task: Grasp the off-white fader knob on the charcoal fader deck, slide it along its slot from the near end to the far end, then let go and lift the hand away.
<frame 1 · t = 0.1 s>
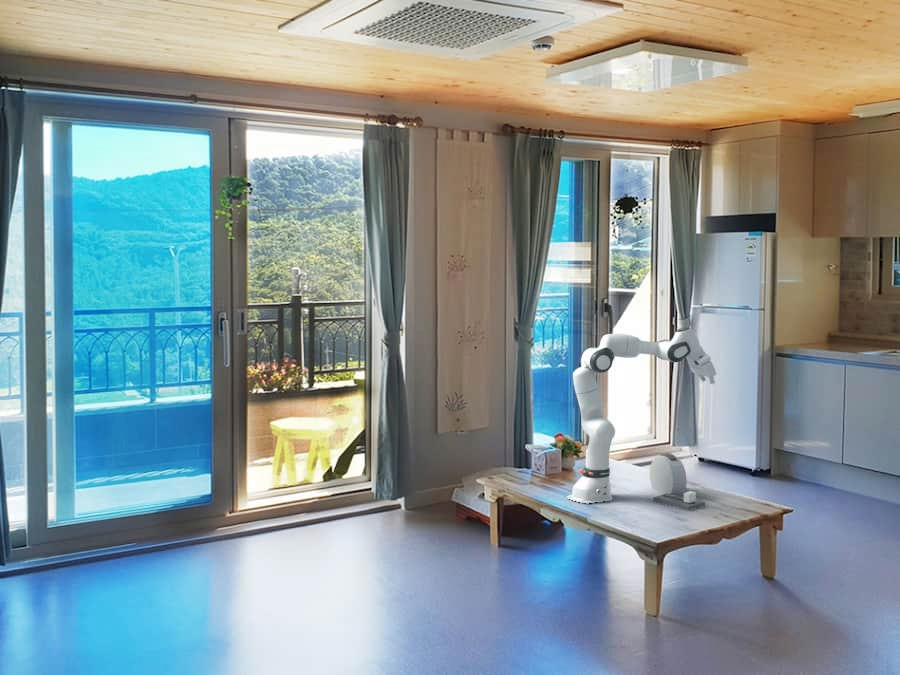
hand: (708, 382, 422), 54 cm above the table, tool tilted 30°, fingers open, 8 cm apart
alarm clock: (667, 494, 424), on the table, touching fader deck
fader deck: (678, 503, 406), on the table
fader knob: (689, 498, 401), point 4 cm above the table, slide at -6.0 cm
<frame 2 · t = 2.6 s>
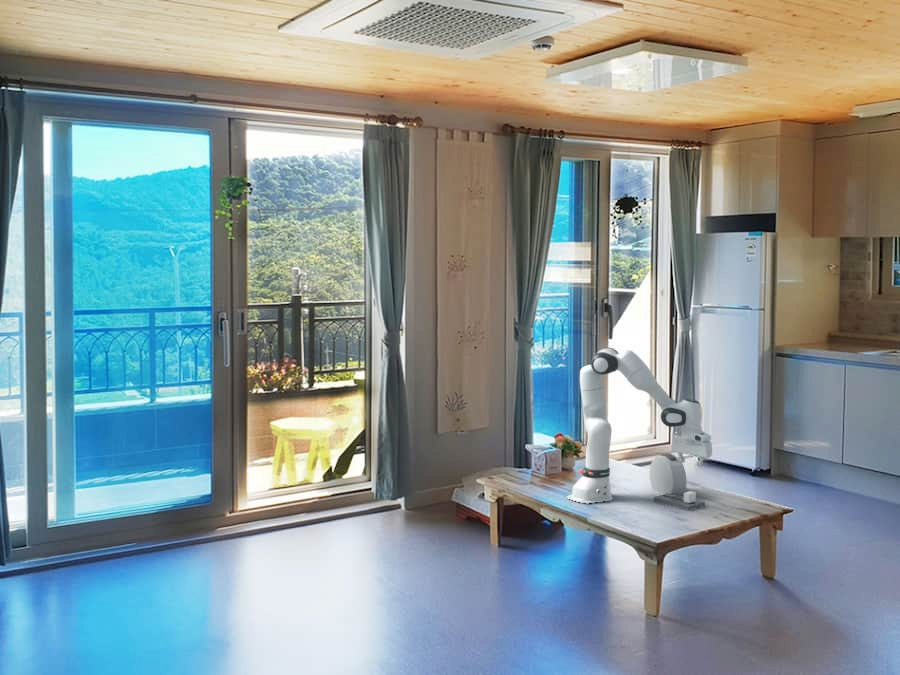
hand: (690, 464, 399), 20 cm above the table, tool pointing down, fingers open, 8 cm apart
nothing on the table moved.
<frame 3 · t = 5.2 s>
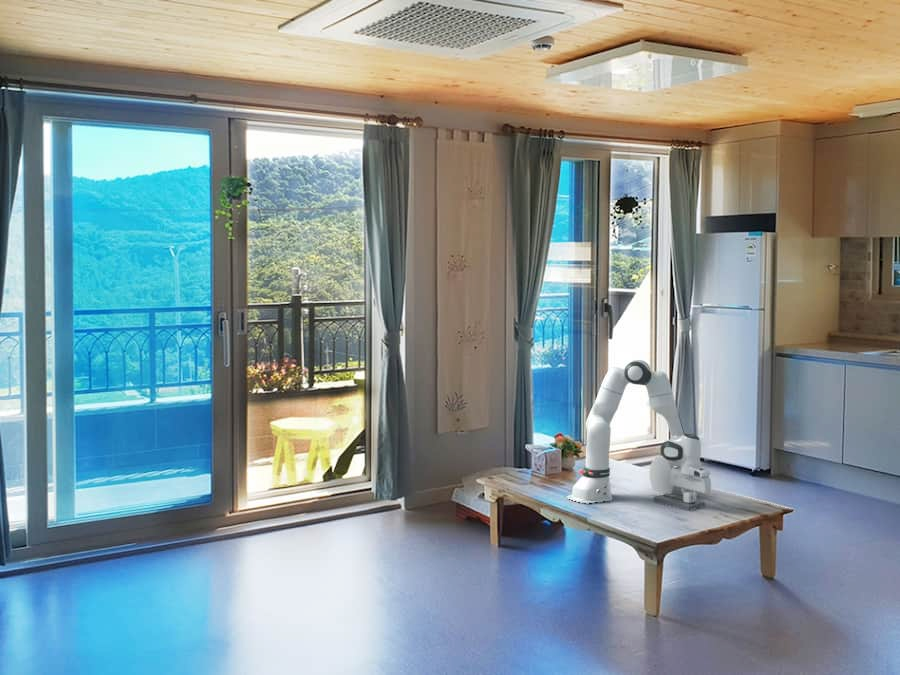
hand: (689, 498, 401), 4 cm above the table, tool pointing down, fingers closed on fader knob, 3 cm apart
fader knob: (689, 498, 401), point 4 cm above the table, slide at -6.0 cm, touching gripper
everything else where it was.
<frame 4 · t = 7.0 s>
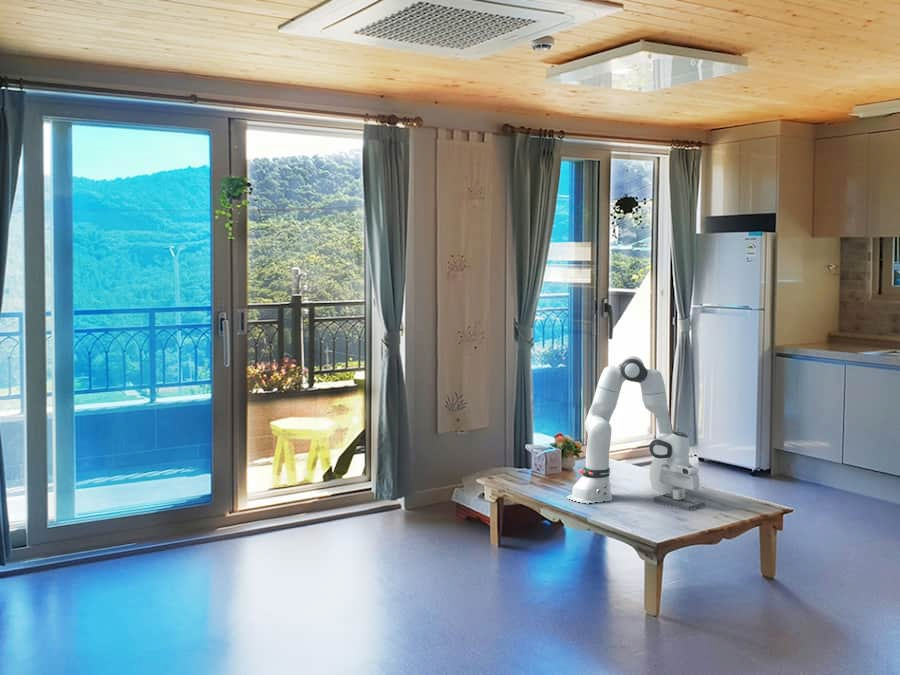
hand: (678, 496, 406), 4 cm above the table, tool pointing down, fingers closed on fader knob, 3 cm apart
fader knob: (678, 495, 406), point 4 cm above the table, slide at 0.2 cm, touching gripper
everything else where it was.
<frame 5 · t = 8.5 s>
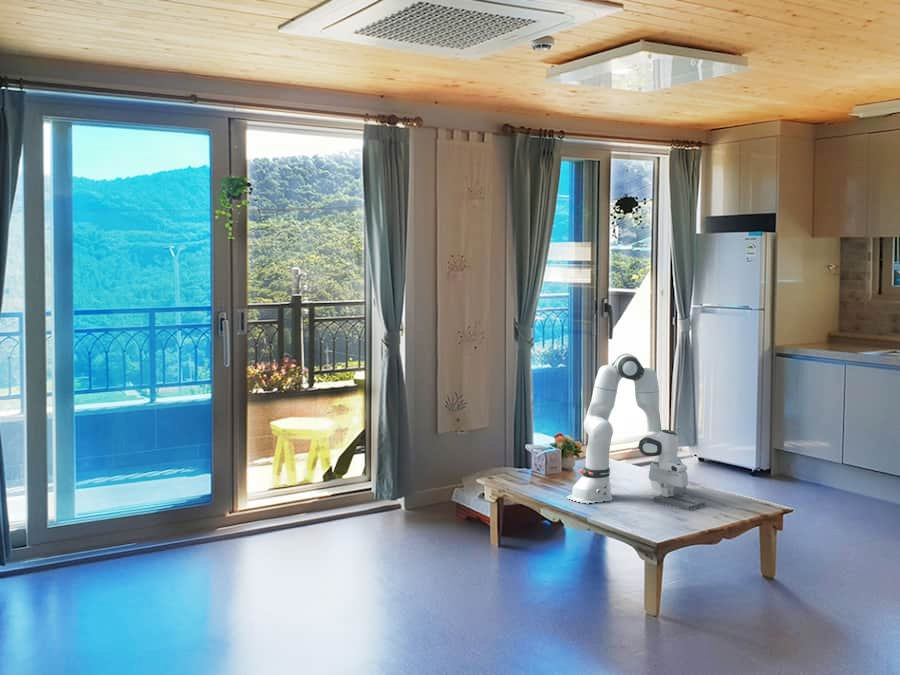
hand: (667, 493, 411), 4 cm above the table, tool pointing down, fingers closed on fader knob, 3 cm apart
fader knob: (667, 492, 411), point 4 cm above the table, slide at 6.5 cm, touching gripper
everything else where it was.
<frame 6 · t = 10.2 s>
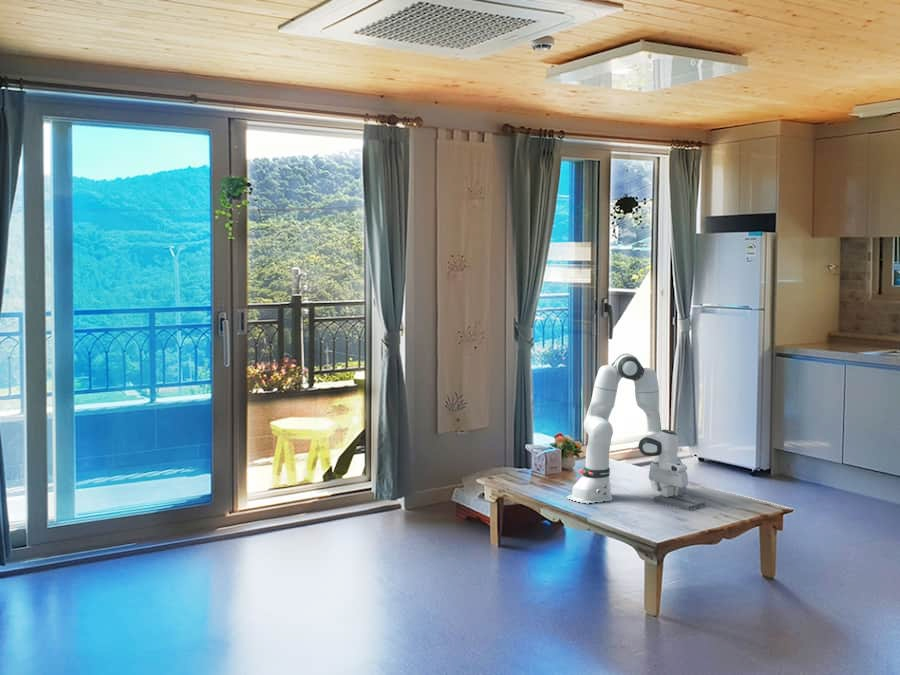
hand: (667, 493, 411), 4 cm above the table, tool pointing down, fingers open, 8 cm apart
fader knob: (667, 492, 411), point 4 cm above the table, slide at 6.5 cm
everything else where it was.
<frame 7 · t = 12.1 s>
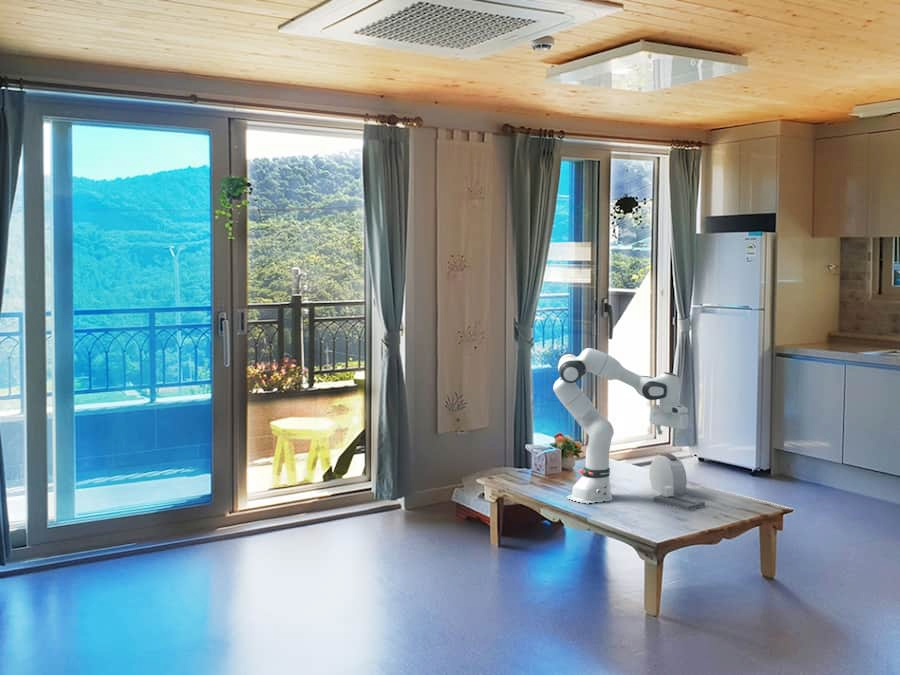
hand: (667, 436, 410), 31 cm above the table, tool pointing down, fingers open, 8 cm apart
nothing on the table moved.
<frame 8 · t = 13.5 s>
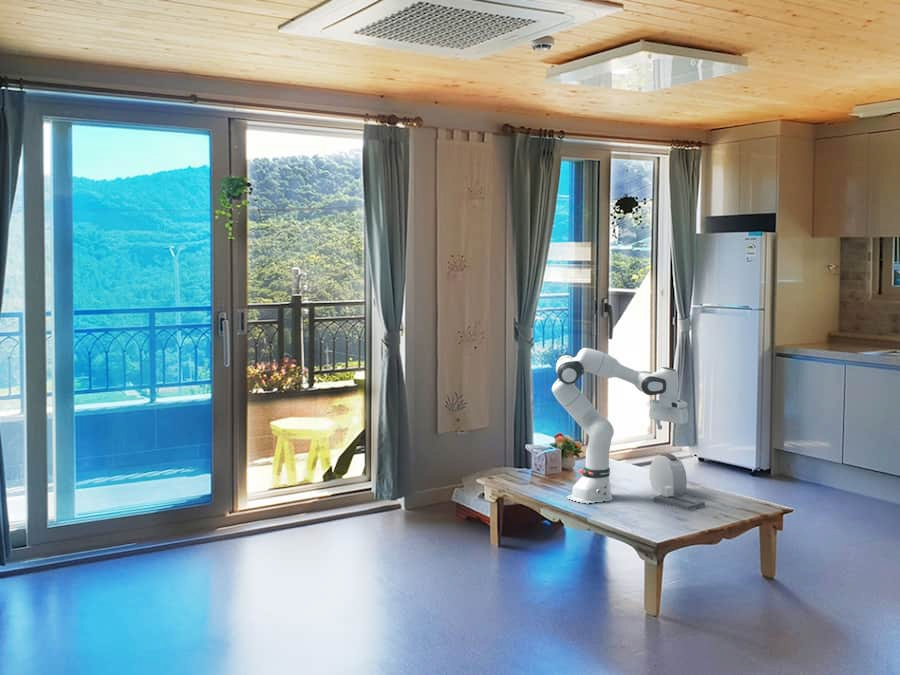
hand: (667, 430, 410), 33 cm above the table, tool pointing down, fingers open, 8 cm apart
nothing on the table moved.
at the end: fader knob slide at 6.5 cm; the gripper is holding nothing; alarm clock moved 0.7 cm from its start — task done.
